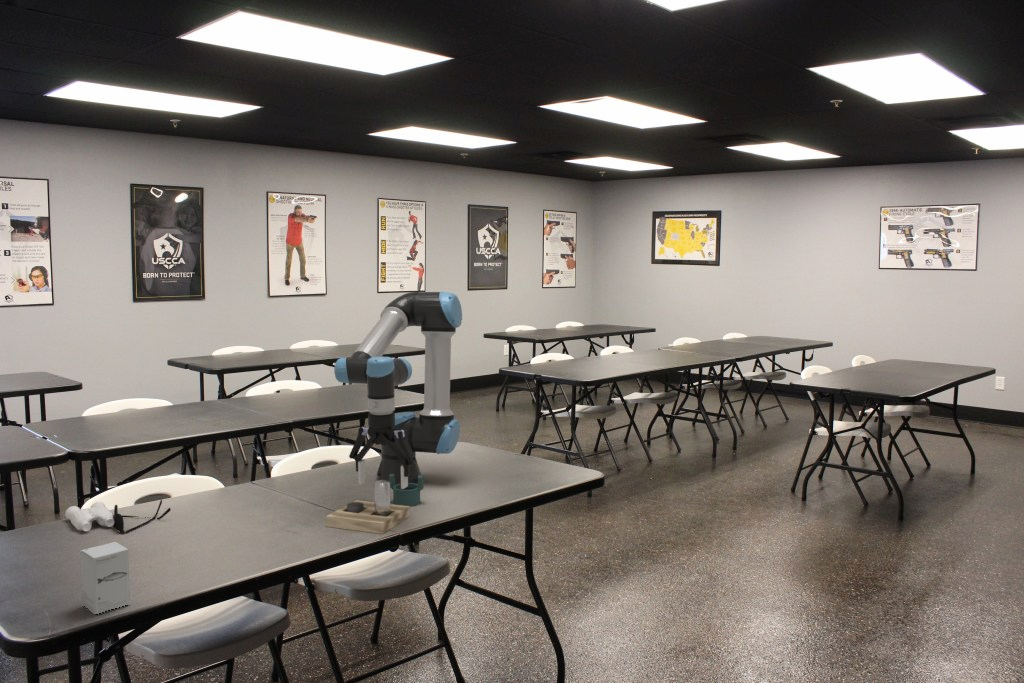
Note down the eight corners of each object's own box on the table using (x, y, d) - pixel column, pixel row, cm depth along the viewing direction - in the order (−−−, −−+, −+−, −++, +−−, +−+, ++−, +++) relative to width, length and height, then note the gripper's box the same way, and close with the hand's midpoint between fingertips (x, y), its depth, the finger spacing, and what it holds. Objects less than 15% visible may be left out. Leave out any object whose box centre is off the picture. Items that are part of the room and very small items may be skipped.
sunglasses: (174, 527, 217) (173, 509, 217) (116, 536, 209) (116, 518, 209) (164, 511, 231) (163, 495, 231) (110, 519, 223) (109, 502, 223)
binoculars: (105, 514, 228) (104, 498, 228) (119, 528, 216) (118, 512, 215) (65, 521, 221) (64, 505, 221) (77, 536, 209) (76, 520, 209)
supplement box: (95, 616, 161) (92, 558, 160) (82, 606, 166) (79, 549, 164) (131, 605, 166) (129, 548, 165) (117, 595, 171) (115, 540, 170)
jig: (356, 509, 232) (355, 495, 232) (409, 516, 226) (409, 501, 226) (326, 526, 217) (326, 511, 217) (383, 534, 211) (382, 518, 211)
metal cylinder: (379, 519, 223) (379, 479, 222) (393, 521, 221) (392, 480, 220) (372, 524, 219) (371, 483, 218) (385, 526, 217) (385, 484, 216)
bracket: (425, 504, 238) (425, 475, 237) (397, 508, 233) (397, 479, 233) (414, 497, 246) (414, 469, 245) (387, 501, 241) (386, 473, 240)
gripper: (335, 411, 218) (338, 484, 220) (415, 417, 209) (416, 493, 212) (349, 406, 225) (351, 477, 227) (427, 412, 216) (428, 485, 219)
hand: (383, 485), depth 219 cm, fingers open, 13 cm apart
